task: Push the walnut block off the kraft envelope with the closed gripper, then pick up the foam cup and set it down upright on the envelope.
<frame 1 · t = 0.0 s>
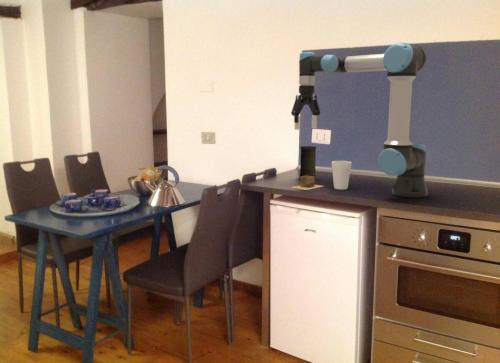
hand: (305, 129, 229), 28 cm above the worktop, fingers open, 13 cm apart
foam cup: (340, 189, 223), on the worktop
block: (307, 186, 227), resting on envelope
envelope: (307, 187, 227), on the worktop
container: (307, 180, 247), on the worktop
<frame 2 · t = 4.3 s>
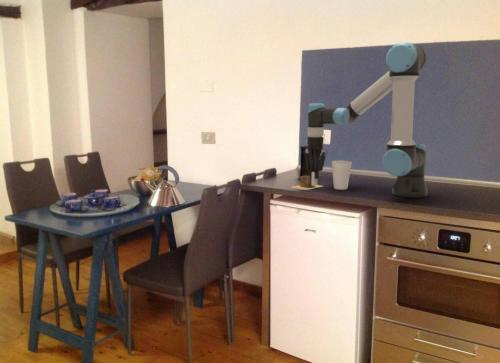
hand: (314, 185, 224), 2 cm above the worktop, fingers closed
block: (307, 186, 227), resting on envelope, touching gripper
everything else where it was.
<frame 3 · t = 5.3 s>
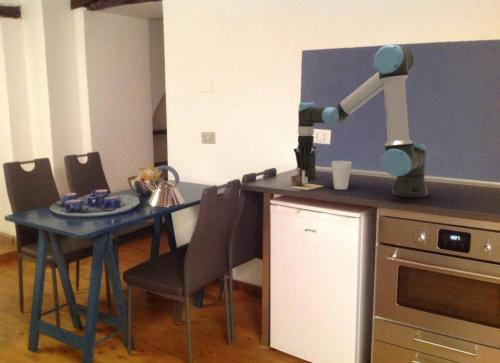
hand: (304, 183, 228), 2 cm above the worktop, fingers closed
block: (299, 184, 230), point 1 cm above the worktop, tilted 15°, touching gripper
everything else where it was.
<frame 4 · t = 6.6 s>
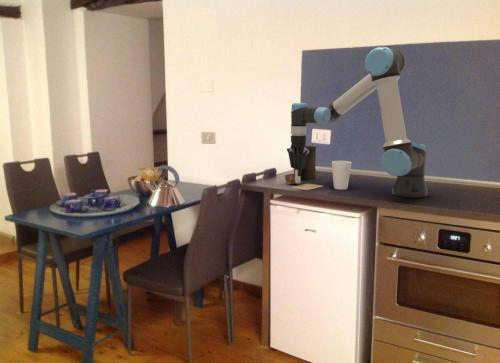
hand: (297, 182, 231), 2 cm above the worktop, fingers closed
block: (293, 183, 233), point 1 cm above the worktop, tilted 14°, touching gripper
everything else where it was.
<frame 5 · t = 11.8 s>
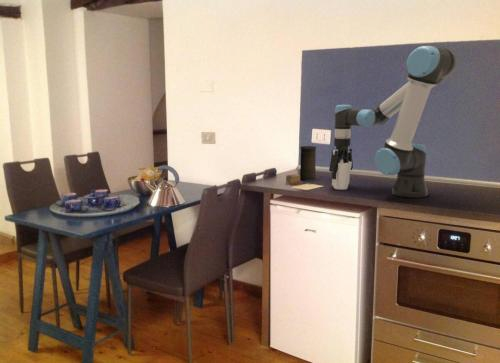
hand: (340, 184, 223), 2 cm above the worktop, fingers closed on foam cup, 9 cm apart
foam cup: (340, 189, 223), on the worktop, touching gripper
block: (293, 185, 233), on the worktop
everything else where it was.
when the fingers open (3 cm above the worktop, at t = 17.3 s): foam cup drops 1 cm, resting on envelope.
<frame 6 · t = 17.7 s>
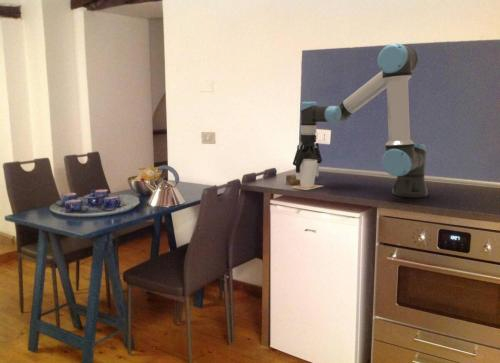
hand: (307, 177, 226), 5 cm above the worktop, fingers open, 13 cm apart
foam cup: (307, 186, 227), resting on envelope
everything else where it was.
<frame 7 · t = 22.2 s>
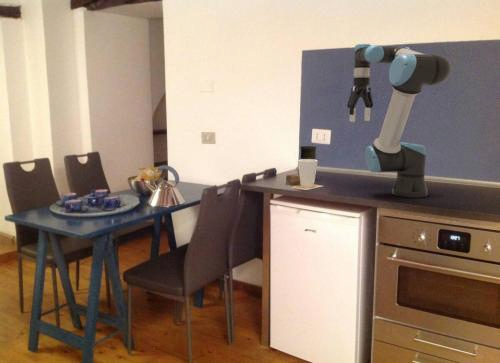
hand: (359, 121, 228), 32 cm above the worktop, fingers open, 13 cm apart
nothing on the worktop moved.
at the end: foam cup inside the target area on the envelope (0.1 cm from its centre), point 0.1 cm above the envelope's base; foam cup tilted 0°; block touching worktop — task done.
